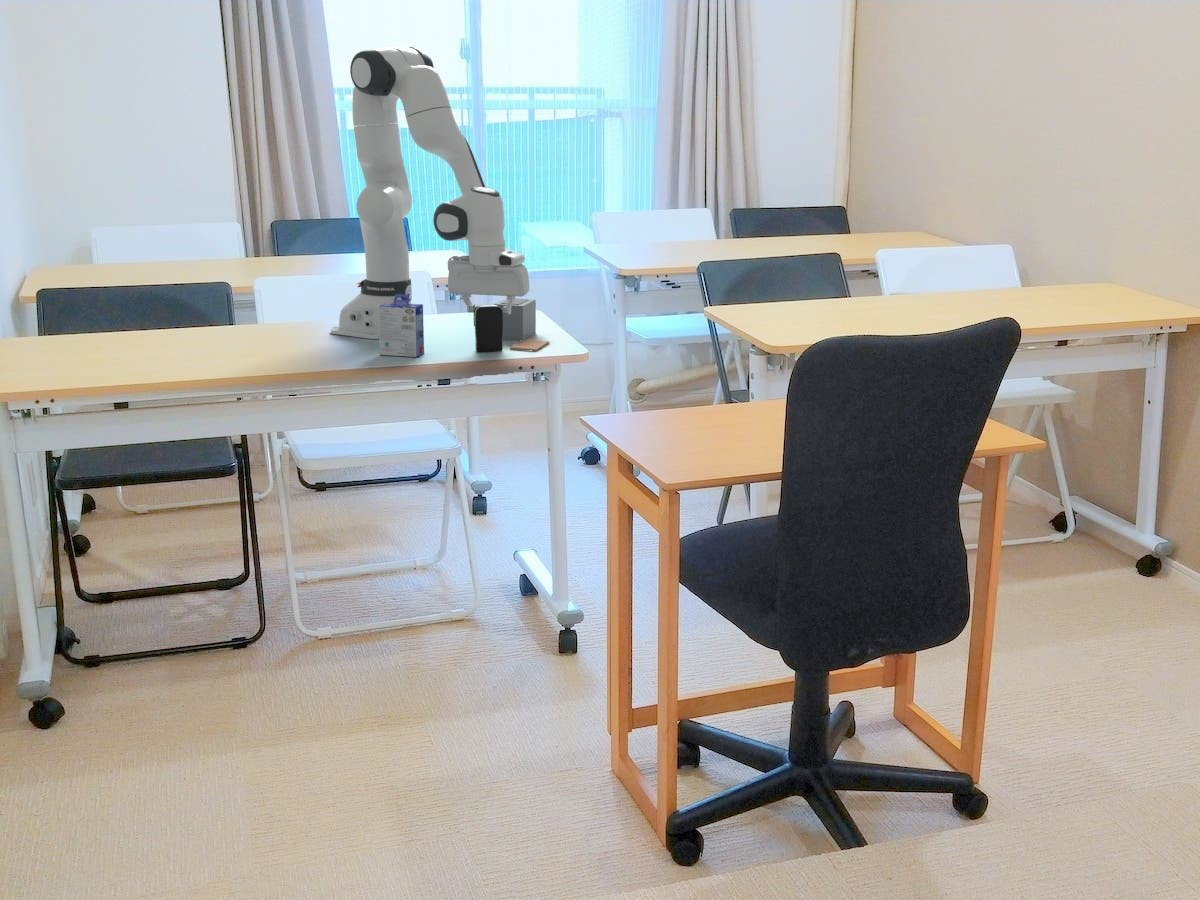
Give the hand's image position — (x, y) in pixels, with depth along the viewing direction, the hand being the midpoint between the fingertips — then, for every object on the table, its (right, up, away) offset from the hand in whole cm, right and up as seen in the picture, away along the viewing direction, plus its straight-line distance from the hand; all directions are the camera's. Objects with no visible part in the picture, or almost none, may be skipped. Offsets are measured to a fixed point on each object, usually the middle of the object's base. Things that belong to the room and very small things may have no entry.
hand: (489, 313), depth 289 cm
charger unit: (+5, -4, +21) cm, 21 cm away
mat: (+9, -7, +8) cm, 15 cm away
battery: (-1, -9, +3) cm, 10 cm away
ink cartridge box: (-21, -11, -2) cm, 23 cm away
